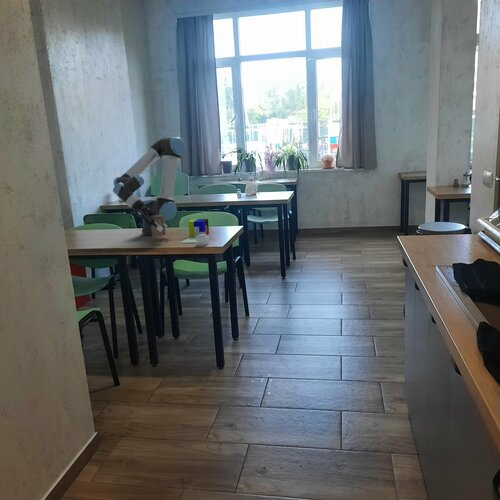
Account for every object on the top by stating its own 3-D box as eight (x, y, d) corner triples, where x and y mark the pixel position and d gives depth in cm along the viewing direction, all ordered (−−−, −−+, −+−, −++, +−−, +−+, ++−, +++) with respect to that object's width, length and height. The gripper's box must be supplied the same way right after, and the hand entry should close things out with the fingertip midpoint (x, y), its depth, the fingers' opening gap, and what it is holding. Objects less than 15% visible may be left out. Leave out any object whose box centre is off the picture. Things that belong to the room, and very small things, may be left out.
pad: (188, 238, 292) (188, 237, 292) (210, 238, 289) (210, 237, 289) (181, 243, 279) (180, 242, 279) (203, 243, 276) (203, 242, 276)
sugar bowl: (199, 243, 276) (198, 233, 274) (210, 243, 274) (209, 233, 273) (195, 246, 269) (194, 236, 268) (206, 245, 268) (205, 236, 266)
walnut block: (156, 234, 285) (154, 215, 282) (165, 234, 284) (163, 215, 281) (152, 236, 280) (149, 217, 277) (161, 236, 278) (159, 217, 275)
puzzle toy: (204, 237, 294) (203, 221, 292) (189, 237, 296) (188, 221, 294) (209, 233, 303) (207, 218, 301) (194, 234, 306) (193, 219, 303)
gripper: (138, 205, 290) (166, 230, 290) (124, 210, 272) (154, 237, 272) (145, 196, 287) (173, 221, 288) (131, 201, 269) (161, 228, 270)
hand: (163, 229), depth 280 cm, fingers closed on walnut block, 6 cm apart
